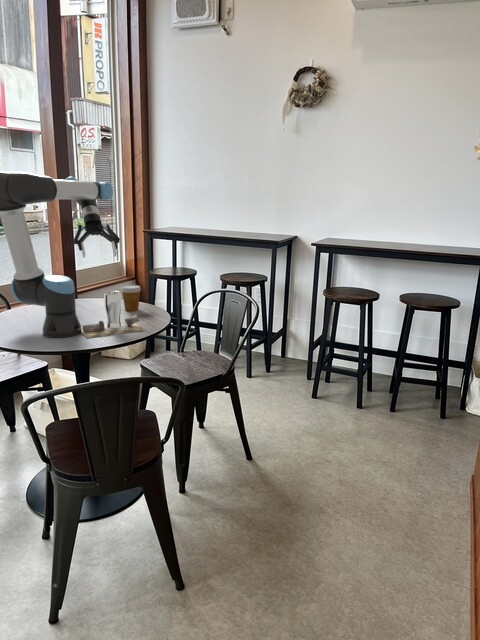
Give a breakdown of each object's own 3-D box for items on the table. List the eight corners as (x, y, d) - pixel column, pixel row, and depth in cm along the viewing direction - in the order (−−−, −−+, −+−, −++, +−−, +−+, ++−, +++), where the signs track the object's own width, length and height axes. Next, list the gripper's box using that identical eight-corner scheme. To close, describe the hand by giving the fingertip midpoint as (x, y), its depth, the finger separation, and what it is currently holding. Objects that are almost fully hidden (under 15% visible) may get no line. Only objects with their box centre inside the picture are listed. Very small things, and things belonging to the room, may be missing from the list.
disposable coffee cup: (143, 308, 242) (143, 285, 239) (138, 313, 233) (137, 289, 230) (125, 307, 243) (124, 284, 240) (119, 312, 234) (118, 288, 231)
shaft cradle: (86, 338, 194) (85, 324, 193) (79, 331, 202) (78, 318, 201) (143, 330, 207) (143, 317, 205) (135, 324, 215) (134, 312, 213)
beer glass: (125, 326, 206) (124, 292, 202) (114, 330, 200) (112, 295, 196) (113, 323, 209) (112, 290, 205) (102, 327, 204) (100, 292, 199)
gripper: (117, 223, 230) (126, 258, 221) (62, 223, 219) (70, 261, 210) (119, 212, 224) (129, 248, 215) (63, 212, 213) (71, 250, 204)
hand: (100, 255), depth 213 cm, fingers open, 13 cm apart
